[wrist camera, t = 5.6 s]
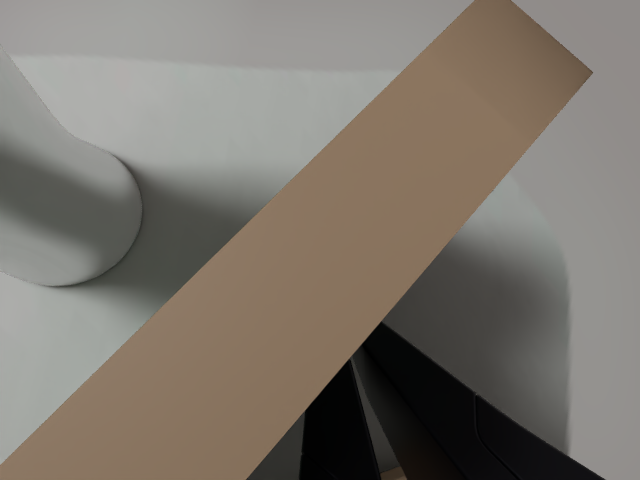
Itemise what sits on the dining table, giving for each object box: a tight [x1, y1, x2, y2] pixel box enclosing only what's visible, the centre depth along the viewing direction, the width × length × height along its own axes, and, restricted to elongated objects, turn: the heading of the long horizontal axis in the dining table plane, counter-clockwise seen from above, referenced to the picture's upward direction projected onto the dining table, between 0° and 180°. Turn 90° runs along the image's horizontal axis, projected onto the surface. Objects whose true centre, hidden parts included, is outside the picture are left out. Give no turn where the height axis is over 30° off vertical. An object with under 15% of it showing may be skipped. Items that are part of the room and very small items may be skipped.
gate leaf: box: [0, 0, 593, 480], centre depth 9 cm, size 16×2×11 cm, turn 137°
